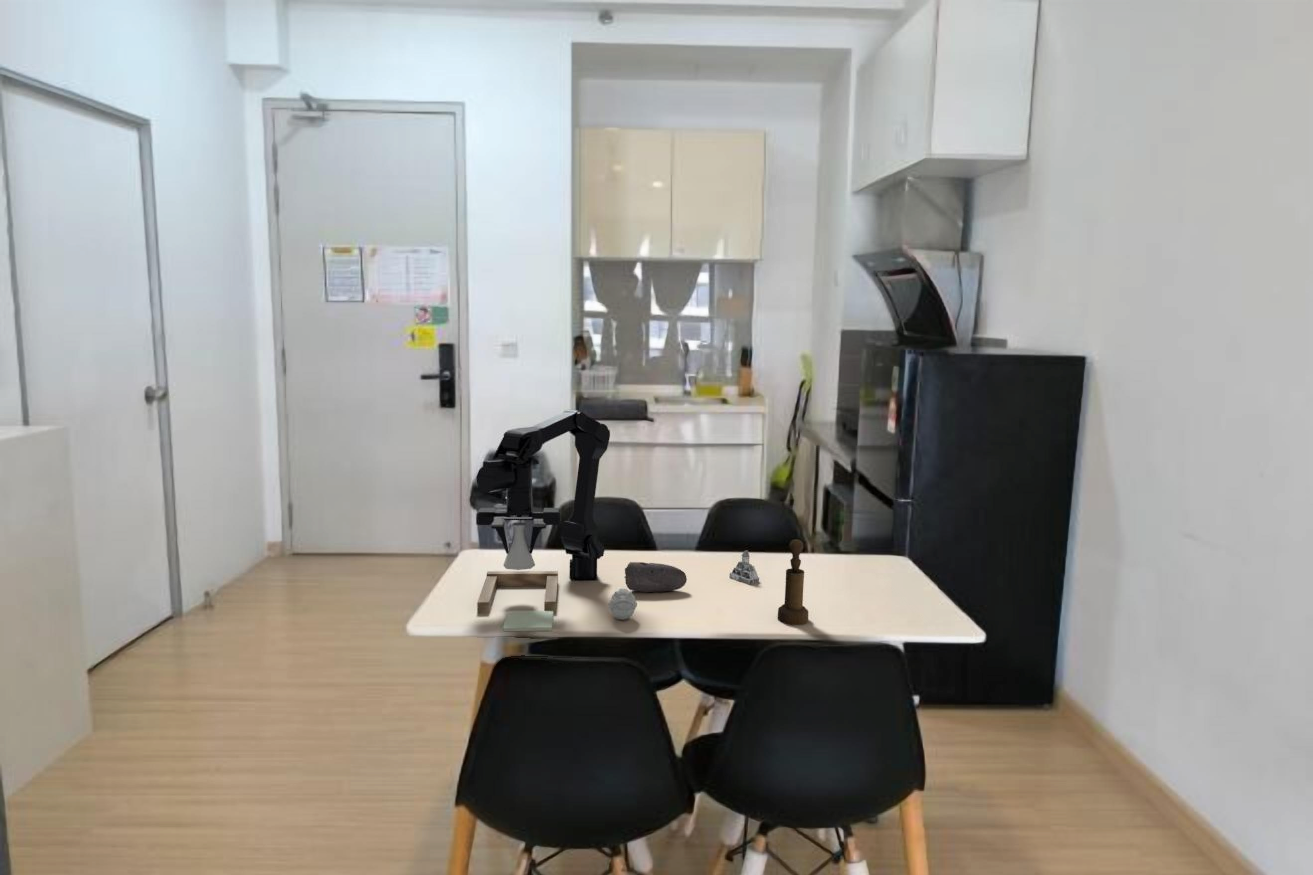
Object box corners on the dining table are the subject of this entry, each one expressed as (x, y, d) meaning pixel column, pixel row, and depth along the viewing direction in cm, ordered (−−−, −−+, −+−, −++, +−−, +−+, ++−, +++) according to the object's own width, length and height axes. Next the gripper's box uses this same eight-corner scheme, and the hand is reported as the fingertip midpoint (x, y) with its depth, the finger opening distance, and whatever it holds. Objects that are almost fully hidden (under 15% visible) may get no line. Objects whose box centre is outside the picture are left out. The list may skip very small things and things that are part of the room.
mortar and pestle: (810, 617, 187) (814, 537, 184) (805, 626, 181) (809, 545, 178) (780, 613, 189) (784, 534, 186) (774, 622, 183) (778, 541, 180)
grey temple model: (778, 581, 213) (779, 551, 212) (753, 587, 208) (754, 556, 207) (753, 572, 220) (754, 543, 219) (728, 577, 215) (729, 548, 214)
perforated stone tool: (685, 587, 205) (686, 560, 204) (687, 594, 200) (688, 566, 199) (624, 587, 205) (624, 559, 204) (624, 594, 200) (624, 565, 199)
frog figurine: (608, 625, 179) (609, 593, 178) (608, 613, 186) (609, 583, 185) (637, 625, 179) (637, 593, 178) (636, 613, 186) (636, 583, 185)
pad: (553, 614, 185) (553, 610, 185) (551, 630, 175) (552, 627, 175) (507, 614, 184) (507, 610, 184) (503, 631, 174) (503, 627, 174)
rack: (557, 582, 207) (558, 571, 206) (555, 612, 186) (555, 599, 186) (487, 583, 205) (487, 571, 205) (477, 613, 184) (477, 599, 184)
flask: (504, 561, 196) (504, 519, 195) (536, 561, 197) (536, 520, 195) (501, 571, 189) (501, 527, 188) (534, 571, 190) (534, 527, 188)
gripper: (561, 479, 199) (561, 543, 201) (481, 479, 197) (481, 543, 199) (560, 488, 188) (560, 556, 190) (475, 488, 186) (476, 557, 188)
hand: (519, 553), depth 192 cm, fingers closed on flask, 5 cm apart
